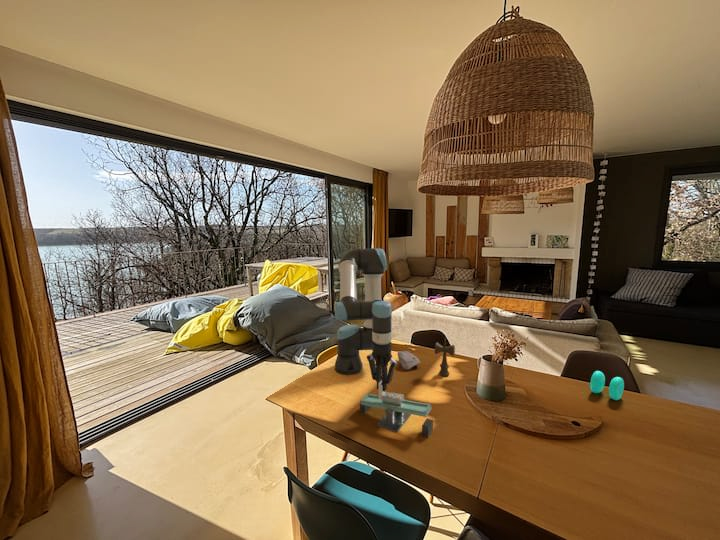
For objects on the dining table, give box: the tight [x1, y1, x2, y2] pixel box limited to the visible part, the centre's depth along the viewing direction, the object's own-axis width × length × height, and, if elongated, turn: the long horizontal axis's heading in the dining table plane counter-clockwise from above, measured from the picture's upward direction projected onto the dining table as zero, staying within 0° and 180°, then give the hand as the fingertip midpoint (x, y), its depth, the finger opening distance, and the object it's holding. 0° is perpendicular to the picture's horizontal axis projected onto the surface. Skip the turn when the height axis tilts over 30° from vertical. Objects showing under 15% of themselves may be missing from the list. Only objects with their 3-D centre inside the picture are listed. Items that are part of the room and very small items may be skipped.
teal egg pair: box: [589, 370, 625, 401], centre depth 134 cm, size 10×10×10 cm
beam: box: [360, 393, 433, 418], centre depth 118 cm, size 7×28×2 cm, turn 57°
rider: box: [382, 391, 405, 407], centre depth 118 cm, size 3×8×4 cm, turn 57°
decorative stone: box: [397, 350, 421, 371], centre depth 167 cm, size 13×10×6 cm
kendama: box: [434, 337, 456, 377], centre depth 154 cm, size 6×10×20 cm, turn 67°
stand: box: [359, 402, 434, 438], centre depth 119 cm, size 13×29×7 cm, turn 57°
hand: (381, 397), depth 121 cm, fingers closed
